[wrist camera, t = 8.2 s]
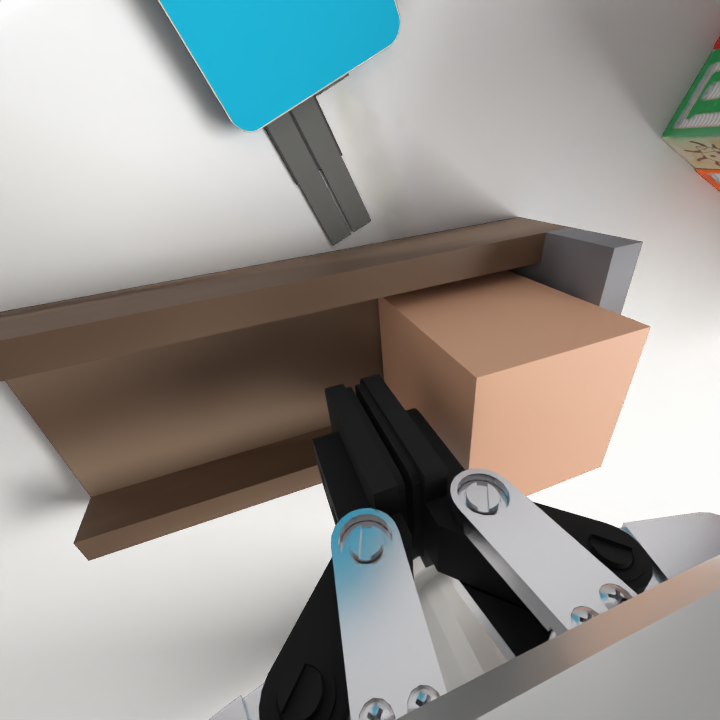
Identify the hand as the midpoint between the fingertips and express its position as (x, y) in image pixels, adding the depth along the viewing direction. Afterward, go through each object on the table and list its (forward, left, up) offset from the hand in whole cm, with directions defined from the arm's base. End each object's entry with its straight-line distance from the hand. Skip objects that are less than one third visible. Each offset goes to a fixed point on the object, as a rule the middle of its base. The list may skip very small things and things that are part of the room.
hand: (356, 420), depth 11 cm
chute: (0, 0, -4) cm, 4 cm away
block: (0, -5, -4) cm, 6 cm away
